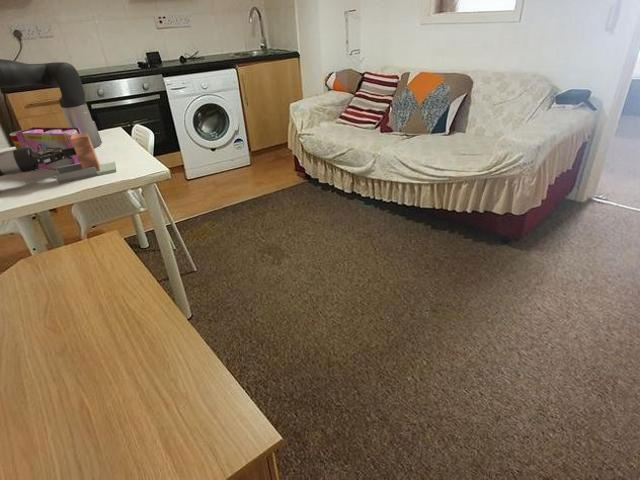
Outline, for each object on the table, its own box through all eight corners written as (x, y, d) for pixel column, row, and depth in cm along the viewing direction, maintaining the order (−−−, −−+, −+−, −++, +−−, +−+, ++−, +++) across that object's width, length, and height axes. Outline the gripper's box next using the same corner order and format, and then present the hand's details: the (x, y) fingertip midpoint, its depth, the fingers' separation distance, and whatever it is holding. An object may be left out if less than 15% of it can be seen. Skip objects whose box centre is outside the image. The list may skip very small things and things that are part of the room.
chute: (59, 183, 131) (55, 175, 129) (60, 175, 138) (57, 167, 136) (116, 171, 137) (113, 163, 136) (115, 164, 144) (112, 156, 143)
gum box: (96, 163, 147) (83, 127, 140) (80, 171, 141) (65, 134, 134) (48, 161, 154) (33, 126, 147) (30, 168, 147) (13, 132, 140)
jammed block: (84, 173, 134) (70, 139, 128) (84, 168, 139) (71, 135, 133) (100, 170, 136) (87, 136, 130) (100, 165, 141) (87, 132, 134)
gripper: (8, 155, 120) (71, 144, 126) (15, 145, 130) (73, 135, 136) (19, 178, 124) (80, 166, 130) (25, 166, 134) (81, 156, 140)
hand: (76, 150), depth 133 cm, fingers closed
